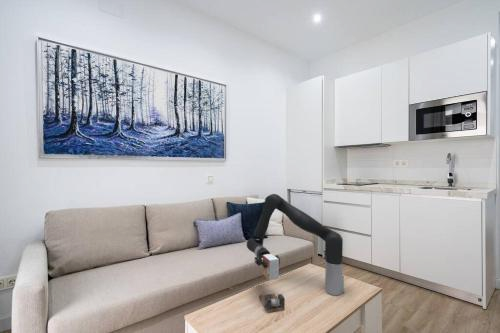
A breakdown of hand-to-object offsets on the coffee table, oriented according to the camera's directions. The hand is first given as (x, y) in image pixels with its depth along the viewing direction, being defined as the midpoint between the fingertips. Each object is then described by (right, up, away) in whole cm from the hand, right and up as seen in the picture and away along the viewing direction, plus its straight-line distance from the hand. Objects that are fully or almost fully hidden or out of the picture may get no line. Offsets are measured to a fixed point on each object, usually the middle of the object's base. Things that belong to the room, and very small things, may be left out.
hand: (272, 265), depth 126 cm
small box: (-1, -7, +2) cm, 7 cm away
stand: (-1, -20, 0) cm, 20 cm away
